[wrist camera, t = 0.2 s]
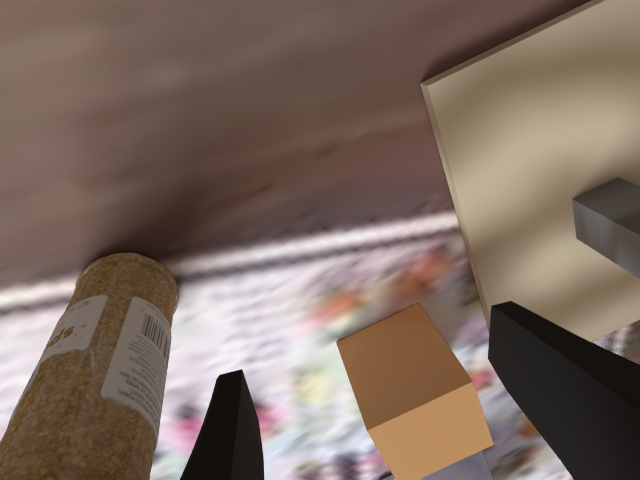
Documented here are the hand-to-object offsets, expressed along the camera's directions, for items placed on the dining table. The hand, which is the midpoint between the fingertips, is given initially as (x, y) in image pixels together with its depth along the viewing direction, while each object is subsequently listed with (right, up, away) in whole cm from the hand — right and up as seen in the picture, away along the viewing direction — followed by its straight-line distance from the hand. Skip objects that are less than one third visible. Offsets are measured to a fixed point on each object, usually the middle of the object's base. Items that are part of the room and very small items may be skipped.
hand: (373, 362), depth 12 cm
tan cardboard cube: (+3, -3, +14) cm, 14 cm away
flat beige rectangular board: (+13, +5, +11) cm, 18 cm away
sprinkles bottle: (-10, +1, +9) cm, 14 cm away
